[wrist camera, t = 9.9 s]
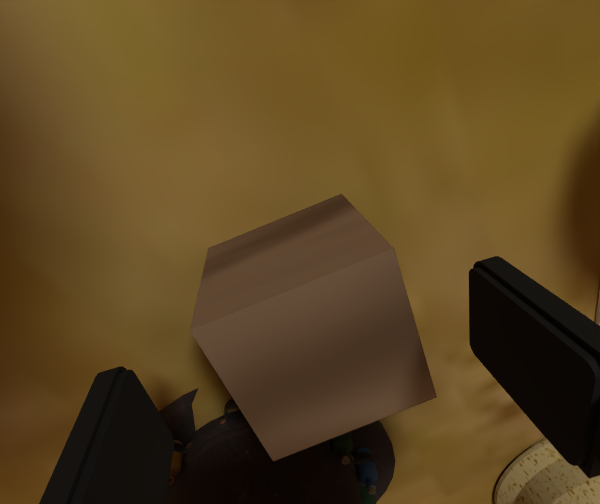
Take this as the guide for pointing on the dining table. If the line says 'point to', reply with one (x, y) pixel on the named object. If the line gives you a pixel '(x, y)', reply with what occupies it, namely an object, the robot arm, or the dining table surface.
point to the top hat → (271, 463)
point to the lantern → (545, 479)
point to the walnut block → (311, 327)
